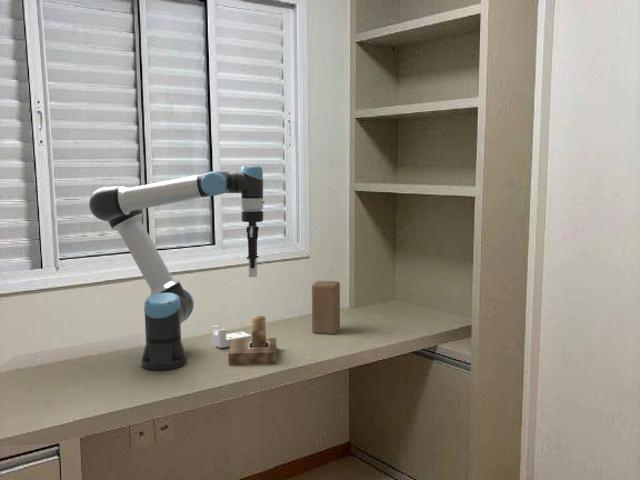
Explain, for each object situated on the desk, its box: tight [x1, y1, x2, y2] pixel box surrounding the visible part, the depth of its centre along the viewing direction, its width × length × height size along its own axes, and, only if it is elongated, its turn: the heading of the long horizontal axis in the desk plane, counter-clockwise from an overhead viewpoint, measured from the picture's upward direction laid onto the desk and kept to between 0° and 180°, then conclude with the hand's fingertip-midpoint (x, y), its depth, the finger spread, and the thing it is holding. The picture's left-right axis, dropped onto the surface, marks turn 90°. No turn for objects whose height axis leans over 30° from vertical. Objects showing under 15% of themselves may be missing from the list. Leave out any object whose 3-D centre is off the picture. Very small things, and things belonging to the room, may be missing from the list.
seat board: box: [227, 337, 277, 366], centre depth 220 cm, size 16×18×4 cm
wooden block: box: [311, 280, 341, 335], centre depth 253 cm, size 10×10×20 cm
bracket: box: [211, 324, 252, 349], centre depth 235 cm, size 13×7×8 cm, turn 124°
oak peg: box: [251, 315, 267, 348], centre depth 220 cm, size 5×5×14 cm
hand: (252, 276), depth 221 cm, fingers closed
